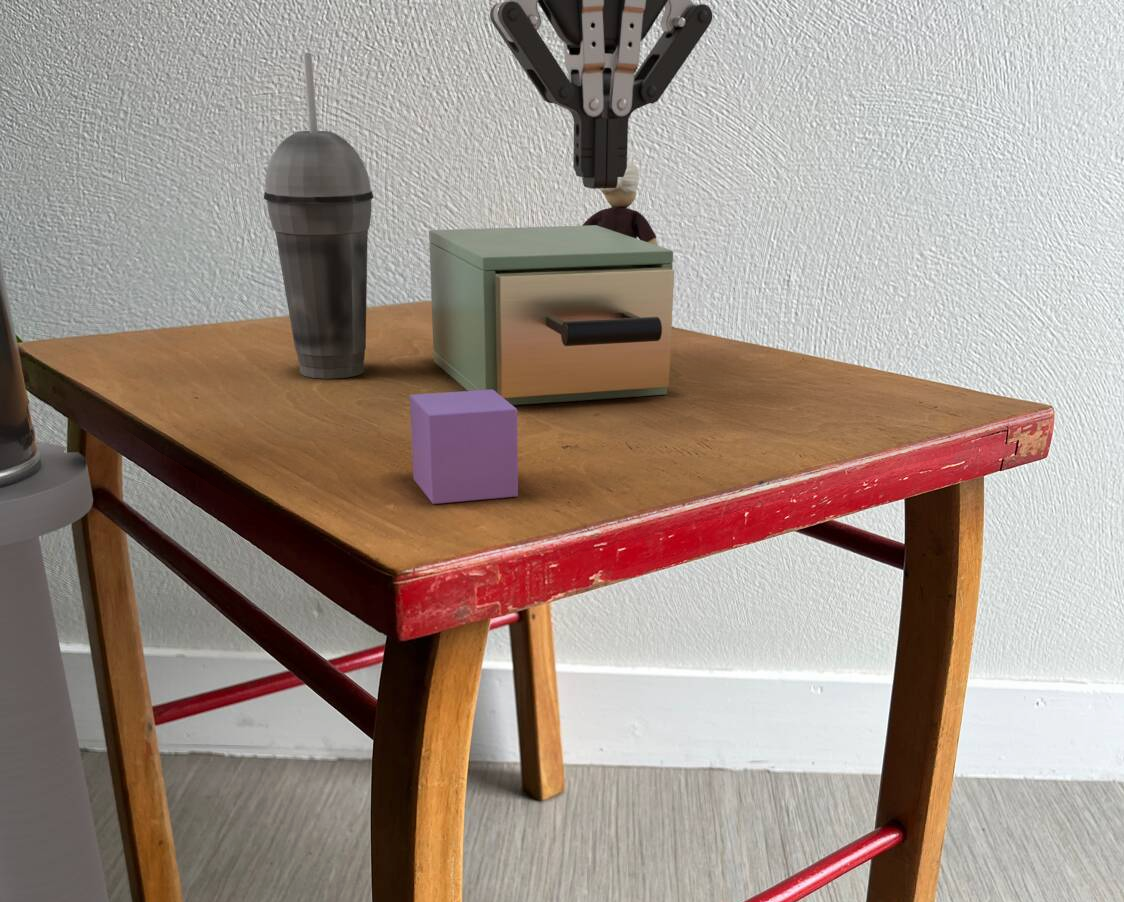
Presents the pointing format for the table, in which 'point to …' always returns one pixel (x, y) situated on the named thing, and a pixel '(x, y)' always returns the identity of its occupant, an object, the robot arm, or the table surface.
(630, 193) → the grandmother figurine
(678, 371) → the table surface
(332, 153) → the beverage cup
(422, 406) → the purple cube
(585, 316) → the wooden drawer
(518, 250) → the drawer cabinet
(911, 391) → the table surface
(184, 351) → the table surface
